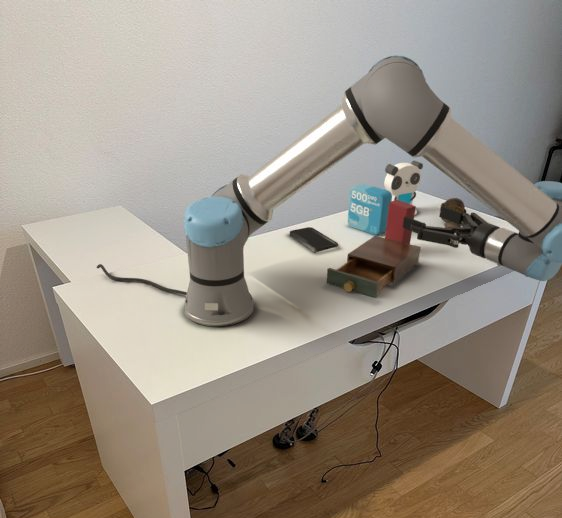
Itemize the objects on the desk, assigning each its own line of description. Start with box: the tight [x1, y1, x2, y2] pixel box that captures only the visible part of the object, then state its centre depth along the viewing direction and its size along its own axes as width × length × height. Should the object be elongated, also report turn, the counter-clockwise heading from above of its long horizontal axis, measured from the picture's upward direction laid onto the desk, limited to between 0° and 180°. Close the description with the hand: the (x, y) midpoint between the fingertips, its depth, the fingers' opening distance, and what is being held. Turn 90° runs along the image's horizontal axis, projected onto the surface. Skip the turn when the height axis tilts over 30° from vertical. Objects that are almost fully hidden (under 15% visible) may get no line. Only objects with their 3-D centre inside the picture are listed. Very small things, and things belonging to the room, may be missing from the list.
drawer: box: [326, 258, 394, 299], centre depth 130 cm, size 17×13×5 cm
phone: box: [289, 226, 339, 254], centre depth 153 cm, size 8×1×15 cm
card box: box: [384, 200, 417, 244], centre depth 145 cm, size 6×3×13 cm, turn 35°
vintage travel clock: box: [439, 197, 467, 233], centre depth 163 cm, size 7×13×10 cm
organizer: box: [346, 235, 422, 283], centre depth 137 cm, size 15×13×5 cm
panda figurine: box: [383, 160, 424, 216], centre depth 171 cm, size 12×11×15 cm
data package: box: [347, 183, 392, 236], centre depth 159 cm, size 12×4×12 cm, turn 45°
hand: (423, 216), depth 137 cm, fingers open, 13 cm apart
